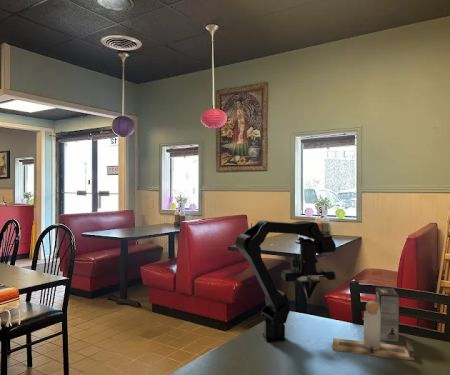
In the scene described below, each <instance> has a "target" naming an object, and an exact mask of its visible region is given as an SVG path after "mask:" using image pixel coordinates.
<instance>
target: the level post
mask: <svg viewBox="0 0 450 375" xmlns="http://www.w3.org/2000/svg"><path fill="white" fill-rule="evenodd" d="M378 310H379V305H378V304H377V303H376V300H369V301H367V302H366V303H365V310H364V311H363V341H364V346H365V347H366V348H368V349H371V347H373V350H377V349H380V343H381V340H380V318H381V313H380V312H378Z"/></svg>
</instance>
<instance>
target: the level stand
mask: <svg viewBox="0 0 450 375" xmlns="http://www.w3.org/2000/svg"><path fill="white" fill-rule="evenodd" d="M332 351H335V352H337V351H338V352H343V353H344V352H345V353H353V354H360V355H368V356H375V357H376V356H377V357H383V358H391V359H401V360H407V361H415V350H414V348H413V346H412V342H411V341H410V340H405V345H395V344H387V343H381V342H380V349H377V350H373V347H371V349H368V348H366V347H365V346H364V340H362V341H361V340H354V339H353V340H352V339H345V338H344V339H343V338H337V337H333V338H332Z"/></svg>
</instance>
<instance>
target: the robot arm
mask: <svg viewBox="0 0 450 375" xmlns="http://www.w3.org/2000/svg"><path fill="white" fill-rule="evenodd" d="M271 233H272V234H273V233H274V234H292V235H293V234H294V235H298V236H299V237H298V239H296V240H295V241H294V243H295V244H297V245H300V247H299V250H300V252H299V253H300V254H299V258H298V261H297V259H296V258H295V259H293V258H292V259H290V267H291V269H287V270H286V269H284V270H282V272H281V274H280V276H281V279H282V280H283V281H284V282H295V281H296V280H297V282H299V283H300V284H301V286H302V288H303V291H304V294H305V298H306V299H307V300H310V299H311V296H312V295H313V293H314V290H315V288H316V287H317V285H318V284H320V283H321V280H320V278H325V279H326V280H328V281H330V280H331V281H333V280H334V281H335V280H337V278H336V277H337V275H336V272H335V271H334V270H332V269H330V268H320V269H319V271H317V264H318V263H319V262H318V261H319V260H318V259H317V255H318V256H320V255H321V256H322V255H331V254H334V253H335V251H336V249H337V245H336V243H335V241H334V239H333V235H329V234H327V235H324V233H322V231H321V229H320V226H319V224H318V222H314V221H310V220H309V221H308V220H299V221H294V222H283V221H268V220H263V219H262V220H258V221H257V222H256V223H255V224H254V225H253V226H251V227H249V228H247V229H246V230H245V231H244V232H243V233H240V234H239V235H238V236H237V237H236V239H235V242H234V245H235V247H236V249H237V250H238V251H239V252H240V254H241V255H242V256H243V258H245V259H246V260H247V261H248V263H249V265H250V267H251V269H252V271H253V273H254V275H255V278H256V280H257V281H258V283H259V285H260V287H261V289H262V291H263V293H264V302H265V306H264V307H263V308H262V310H261V311H260V313H259V314H260V316H261V318H264V319H263V332H262V337H263V338H264V340H265V342H268V343H269V342H270V343H271V342H283V341H286V339H285V336H286V325H285V324H286V323H287V320H288V317H289V314H290V311H291V302H290V301H289V299H288V296H287V294H286V293H285V292H283V291H281V290H279V289H278V288H277V286H276V285H275V282H274V281H273V278H272V276H271V274H270V272H269V269H268V268H267V266H266V264H265V262H264V260H263V258H262V248H261V245H262V244H263V243H264V242H265V239H266V238H267V236H268V234H271ZM304 237H306V238H304ZM292 269H295V271H296V272H295V271H294V270H292Z"/></svg>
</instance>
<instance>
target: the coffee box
mask: <svg viewBox="0 0 450 375" xmlns="http://www.w3.org/2000/svg"><path fill="white" fill-rule="evenodd" d="M375 302H376V303H377V304H378V305H379V310H378V312H380V313H381V318H380V341H387V342H397V341H398V342H399V320H400V319H399V315H400V314H399V312H400V307H399V306H400V295H399V294H398V292H397V291H396V289H395V288H394V287H378V286H377V287H375Z"/></svg>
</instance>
